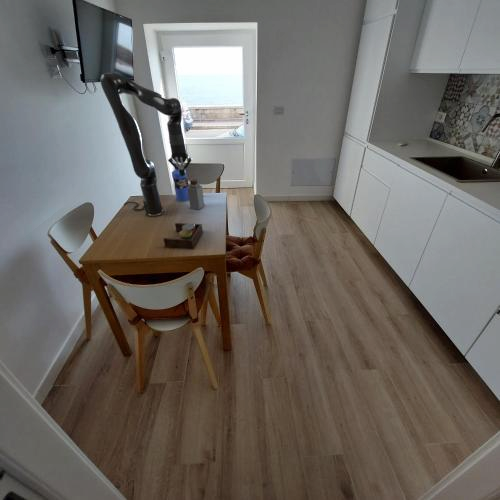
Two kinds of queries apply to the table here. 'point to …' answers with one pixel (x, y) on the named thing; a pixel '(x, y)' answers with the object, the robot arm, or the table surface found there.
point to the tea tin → (186, 234)
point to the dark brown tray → (184, 242)
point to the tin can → (190, 227)
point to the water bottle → (180, 185)
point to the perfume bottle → (195, 195)
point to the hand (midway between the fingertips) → (182, 175)
